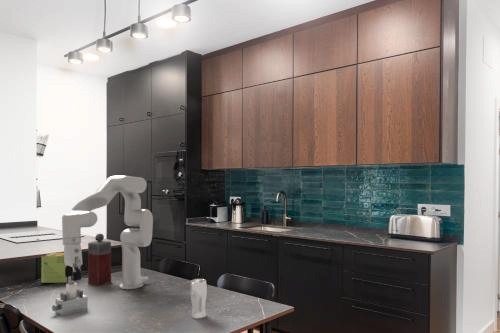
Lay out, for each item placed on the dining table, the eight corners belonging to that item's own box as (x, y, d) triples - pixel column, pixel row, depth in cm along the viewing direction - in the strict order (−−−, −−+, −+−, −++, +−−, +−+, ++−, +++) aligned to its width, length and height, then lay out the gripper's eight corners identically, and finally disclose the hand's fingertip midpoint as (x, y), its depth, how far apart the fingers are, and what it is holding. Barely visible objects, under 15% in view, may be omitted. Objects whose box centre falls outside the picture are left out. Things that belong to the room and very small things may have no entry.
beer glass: (191, 313, 168) (190, 278, 168) (207, 313, 168) (206, 278, 169) (190, 319, 161) (189, 283, 161) (206, 318, 161) (206, 282, 162)
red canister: (98, 279, 229) (98, 232, 230) (111, 281, 223) (111, 233, 224) (85, 283, 221) (85, 234, 222) (98, 285, 215) (97, 235, 216)
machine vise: (80, 305, 181) (80, 287, 181) (87, 309, 175) (87, 290, 175) (49, 313, 171) (49, 293, 172) (56, 317, 166) (56, 297, 166)
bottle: (74, 295, 177) (74, 279, 178) (78, 297, 174) (78, 281, 175) (64, 297, 174) (64, 281, 175) (68, 299, 171) (68, 283, 171)
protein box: (67, 282, 223) (67, 255, 224) (40, 282, 224) (40, 255, 224) (75, 277, 234) (75, 252, 234) (50, 278, 234) (50, 252, 234)
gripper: (87, 241, 172) (89, 280, 172) (73, 237, 184) (74, 273, 184) (70, 244, 166) (71, 284, 166) (56, 239, 179) (57, 276, 179)
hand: (72, 278), depth 175 cm, fingers open, 9 cm apart
